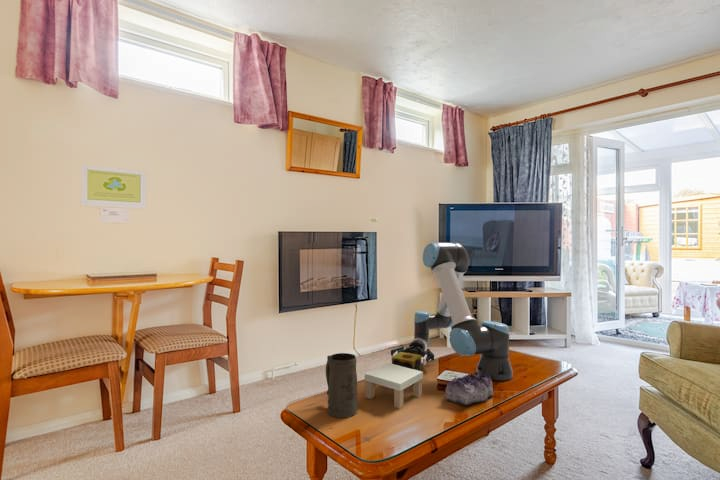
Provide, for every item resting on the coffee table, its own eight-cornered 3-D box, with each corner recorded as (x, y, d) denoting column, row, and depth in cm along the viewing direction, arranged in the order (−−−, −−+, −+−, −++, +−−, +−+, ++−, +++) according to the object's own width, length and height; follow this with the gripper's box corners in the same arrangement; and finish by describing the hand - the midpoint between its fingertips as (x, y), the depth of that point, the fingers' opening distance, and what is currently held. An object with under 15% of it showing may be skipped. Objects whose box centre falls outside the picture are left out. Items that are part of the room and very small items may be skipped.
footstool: (422, 395, 152) (423, 371, 152) (400, 409, 139) (400, 384, 139) (388, 384, 162) (388, 363, 162) (364, 397, 150) (364, 373, 149)
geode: (476, 388, 160) (479, 364, 159) (499, 402, 150) (503, 377, 149) (438, 396, 150) (442, 371, 148) (460, 412, 140) (464, 385, 139)
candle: (390, 381, 166) (390, 357, 166) (399, 373, 175) (399, 351, 175) (413, 385, 162) (413, 361, 161) (421, 377, 171) (421, 354, 170)
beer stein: (365, 411, 138) (362, 354, 138) (344, 421, 130) (341, 361, 130) (334, 401, 148) (332, 349, 148) (313, 410, 140) (311, 355, 140)
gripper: (443, 357, 191) (436, 372, 171) (393, 352, 199) (381, 365, 179) (443, 342, 191) (436, 354, 171) (393, 337, 199) (381, 348, 179)
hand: (408, 360), depth 175 cm, fingers open, 13 cm apart
